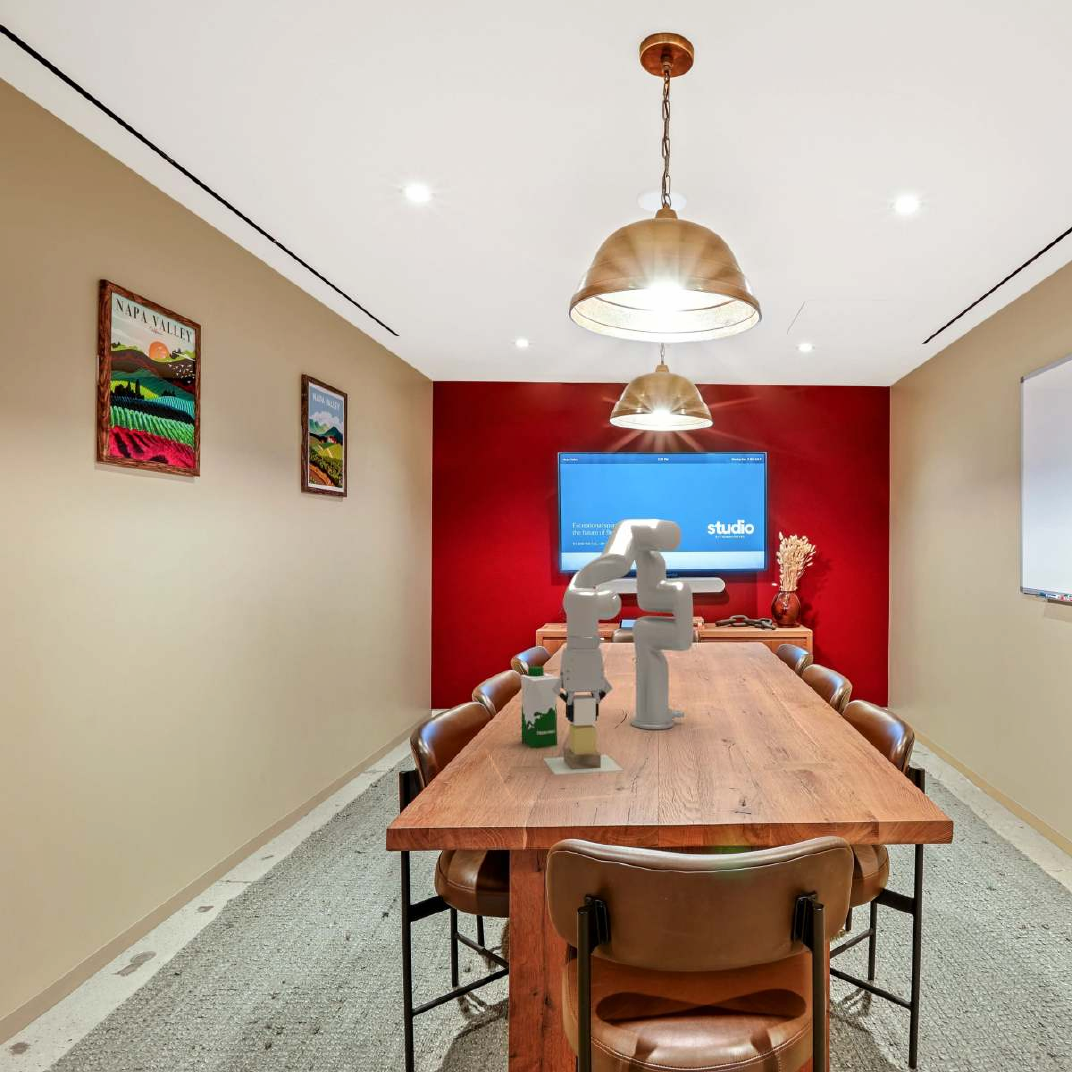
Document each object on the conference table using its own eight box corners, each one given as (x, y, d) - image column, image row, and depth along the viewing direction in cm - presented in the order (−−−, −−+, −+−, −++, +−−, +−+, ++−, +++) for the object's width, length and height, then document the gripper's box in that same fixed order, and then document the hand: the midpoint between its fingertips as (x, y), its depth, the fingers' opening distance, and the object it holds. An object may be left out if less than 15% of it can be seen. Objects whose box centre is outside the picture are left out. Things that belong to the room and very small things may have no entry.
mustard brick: (589, 747, 166) (589, 722, 166) (595, 753, 161) (595, 727, 161) (569, 748, 165) (569, 723, 165) (574, 754, 160) (575, 729, 160)
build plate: (606, 756, 170) (606, 754, 170) (622, 772, 158) (622, 769, 158) (543, 760, 167) (543, 758, 167) (555, 777, 155) (555, 774, 155)
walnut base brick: (591, 758, 167) (591, 746, 167) (600, 767, 160) (600, 754, 160) (563, 760, 165) (563, 747, 165) (571, 769, 158) (571, 756, 158)
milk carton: (546, 738, 186) (546, 664, 186) (562, 747, 178) (562, 670, 178) (516, 743, 182) (517, 667, 182) (532, 752, 174) (532, 672, 174)
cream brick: (589, 719, 166) (589, 694, 166) (595, 724, 161) (595, 698, 161) (569, 720, 164) (569, 695, 165) (574, 725, 160) (575, 699, 160)
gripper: (611, 640, 168) (611, 714, 168) (543, 641, 165) (543, 718, 165) (621, 644, 161) (621, 722, 161) (551, 646, 157) (550, 726, 157)
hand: (582, 719), depth 163 cm, fingers closed on cream brick, 5 cm apart
